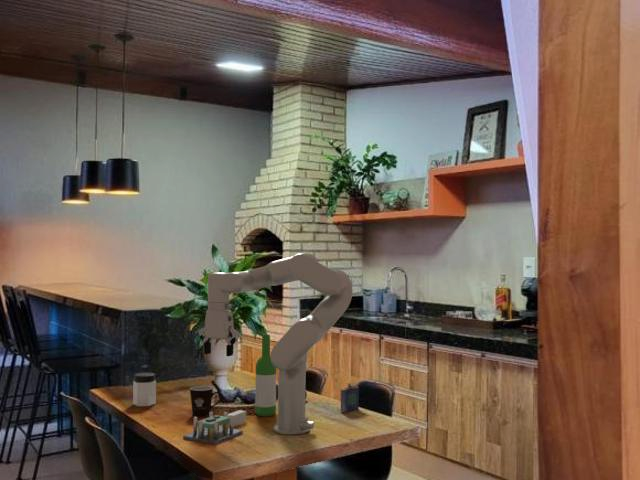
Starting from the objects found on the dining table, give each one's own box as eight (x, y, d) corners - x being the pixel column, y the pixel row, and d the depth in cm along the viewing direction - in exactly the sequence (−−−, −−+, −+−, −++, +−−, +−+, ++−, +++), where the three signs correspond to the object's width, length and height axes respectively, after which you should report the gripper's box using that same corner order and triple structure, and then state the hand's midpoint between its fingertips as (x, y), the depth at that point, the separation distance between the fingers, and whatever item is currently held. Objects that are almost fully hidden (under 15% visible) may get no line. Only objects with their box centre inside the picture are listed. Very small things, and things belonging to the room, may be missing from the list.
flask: (343, 413, 245) (343, 385, 245) (338, 412, 247) (338, 384, 247) (360, 409, 251) (360, 382, 251) (354, 408, 253) (355, 381, 253)
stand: (246, 422, 232) (246, 411, 232) (232, 427, 225) (232, 416, 225) (239, 421, 233) (239, 410, 233) (225, 426, 226) (225, 414, 226)
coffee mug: (184, 415, 240) (185, 389, 241) (199, 410, 248) (199, 384, 248) (209, 419, 235) (210, 392, 235) (223, 414, 243) (224, 388, 243)
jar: (145, 407, 253) (145, 377, 253) (129, 405, 256) (129, 375, 256) (159, 402, 261) (160, 373, 261) (143, 400, 264) (143, 371, 264)
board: (230, 421, 217) (230, 415, 217) (210, 428, 209) (211, 422, 209) (216, 419, 220) (216, 413, 220) (196, 426, 212) (196, 419, 212)
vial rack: (242, 433, 218) (242, 414, 218) (214, 444, 205) (214, 424, 205) (212, 427, 224) (212, 409, 224) (183, 438, 211) (183, 418, 211)
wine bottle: (251, 415, 242) (251, 335, 242) (262, 410, 248) (263, 333, 249) (268, 417, 238) (269, 336, 238) (279, 413, 245) (280, 334, 245)
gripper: (244, 307, 229) (244, 355, 228) (205, 305, 237) (205, 351, 236) (232, 308, 222) (232, 358, 222) (192, 306, 230) (192, 354, 230)
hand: (218, 354), depth 229 cm, fingers open, 9 cm apart
